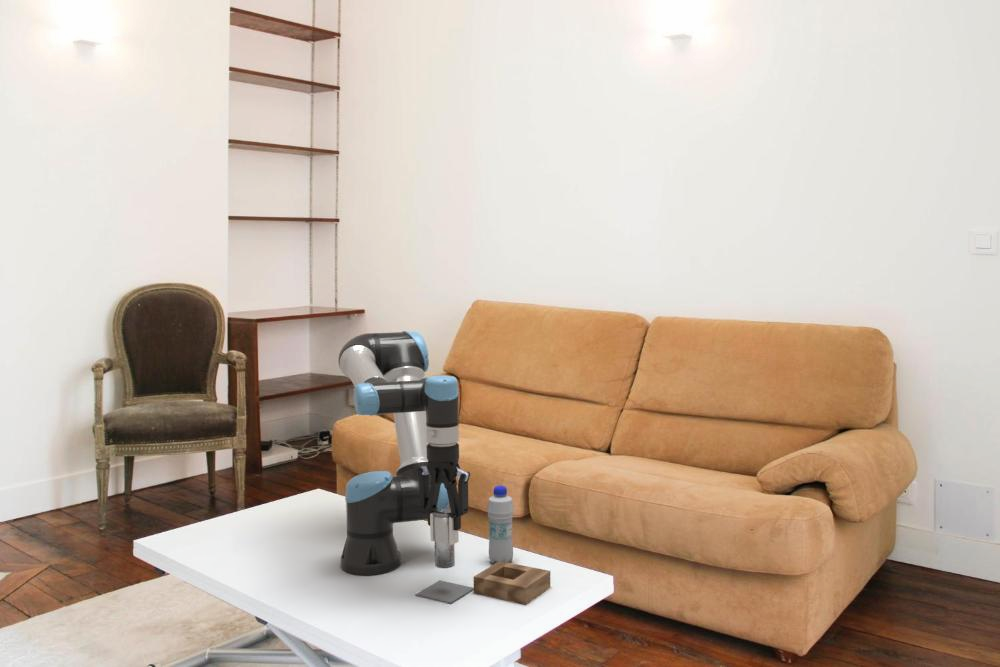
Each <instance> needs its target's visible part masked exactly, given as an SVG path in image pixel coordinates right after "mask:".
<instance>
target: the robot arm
mask: <svg viewBox="0 0 1000 667" xmlns="http://www.w3.org/2000/svg"><path fill="white" fill-rule="evenodd" d="M429 359H430V358H429V350H428V347H427V343H426V341H425V338H424V337H423V336H422V335H421V334H420V333H419V332H416V331H407V330H403V331H400V332H373V333H372V332H369V333H363V334H360V335H356V336H355V337H353V338H351V339H350V340H349V341H347V342H346V343H345V344H344V345H343V346H342V348H341V350H340V352H339V354H338V367H339V368H340V371H341V372H342V374H343V375H344V376H345V377H346V378H348V379H350V380H351V382H352V384H353V387H354V388H353V406H354V409H355V413H356V414H357V415H358V416H371V417H373V416H378V415H379V416H380V415H388V414H389V415H391V414H392V415H393V419H394V427H395V434H396V441H397V449H398V455H399V461H400V465H399V467H398V469H396V471H395V473H396V476H393V475H392V473H391V472H390V471H387V470H380V471H379V470H375V471H373V470H372V471H368V472H364V473H360V474H358V475H355V476H354V477H351V479H349V480H348V482H347V483H346V485H345V486H346V487H345V498H344V500H345V503H346V504H345V506H346V507H345V508H346V509H345V512H346V533H347V534H346V539H345V542H344V546H343V550H342V554H341V557H340V568H341V569H342V570H343V571H344V572H346V573H348V574H353V575H358V576H360V575H361V576H371V575H373V576H374V575H380V574H384V573H389V572H392V571H394V570H396V569H398V568H399V567H400V565H401V559H402V558H401V553H400V551H399V547H398V544H397V542H396V539H395V535H394V527H393V526H394V524H396V523H408V522H415V521H416V522H417V521H418V522H419V521H426V520H427V525H428V526H429V527H430V530H429V532H430V542H435V538H434V511H435V510H438V509H451V513H452V515H451V516H450V517H449V545H453V544H454V545H455V544H457V543H459V538H460V537H459V530H461V528H462V516H464V515H466V514H468V513H469V480H470V476H471V473H470V471H464V470H462V469H461V466H460V465H459V460H460V444H459V443H458V442H459V441H460V430H459V428H460V427H459V426H460V425H459V422H460V421H459V394H460V391H459V383H458V379H457V378H456V377H455V376H453V375H433V376H429V377H426V376H425V373H426V372H427V371H428V370H429V365H430V363H429V362H430V360H429ZM457 480H458V481H457Z"/></svg>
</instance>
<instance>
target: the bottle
mask: <svg viewBox="0 0 1000 667" xmlns="http://www.w3.org/2000/svg"><path fill="white" fill-rule="evenodd" d="M513 504H514V503H513V498H512V497H511V496H509V495H508V489H507V487H506V486H504V485H496V486H494V488H493V495H492V496H490V497H489V498H488V506H487V509H486V510H487V517H488V524H489V526H488V533H489V534H488V536H489V537H488V538H489V540H488V558H489V560H490V562H491V563H492V565H494V564H495V563H497V562H499V561H503V562H508V563H512V561H513V558H514V542H513V517H514V505H513Z"/></svg>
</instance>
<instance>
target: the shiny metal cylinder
mask: <svg viewBox="0 0 1000 667" xmlns="http://www.w3.org/2000/svg"><path fill="white" fill-rule="evenodd" d="M451 515H452V513H451V508H448V509H438V510H435V511H434V538H435V541H434V566H435V567H436V568H438V569H449V568H453V567H454V566H455V565H456V561H455V555H456V554H455V544H453V545H449V517H450V516H451Z"/></svg>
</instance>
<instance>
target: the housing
mask: <svg viewBox="0 0 1000 667" xmlns="http://www.w3.org/2000/svg"><path fill="white" fill-rule="evenodd" d="M473 588H474V590H473V594H477V595H481V596H484V597H485V596H486V597H490V598H493V599H499V600H502V601H507V602H512V603H517V604H521V605H525V606H526V605H528V604H529V603H530V602H532V601H533V600H535V599H536V598H538V597H539V596H540V595H542V594H543V593H544V592H546V591H547V590H549V589H550V588H551V570H547V569H542V568H538V567H532V566H526V565H522V564H518V563H512V562H510V563H508V562H504V561H499V562H497V561H496V563H495V564H491V565H490V566H489V567H487V568H486V569H484V570H482V571H480V572H479V573H477V574H476V575H474V576H473ZM548 588H549V589H548ZM545 590H546V591H545Z"/></svg>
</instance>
